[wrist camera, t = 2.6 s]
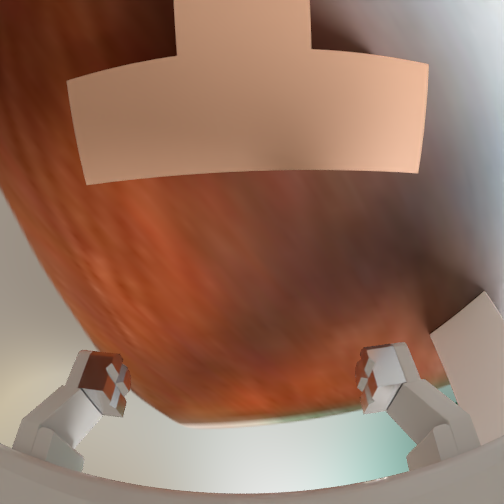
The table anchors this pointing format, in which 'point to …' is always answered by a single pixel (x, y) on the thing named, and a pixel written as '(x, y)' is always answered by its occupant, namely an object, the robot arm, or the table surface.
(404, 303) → the table surface
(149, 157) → the T block
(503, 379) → the milk
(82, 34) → the table surface
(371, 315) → the table surface
